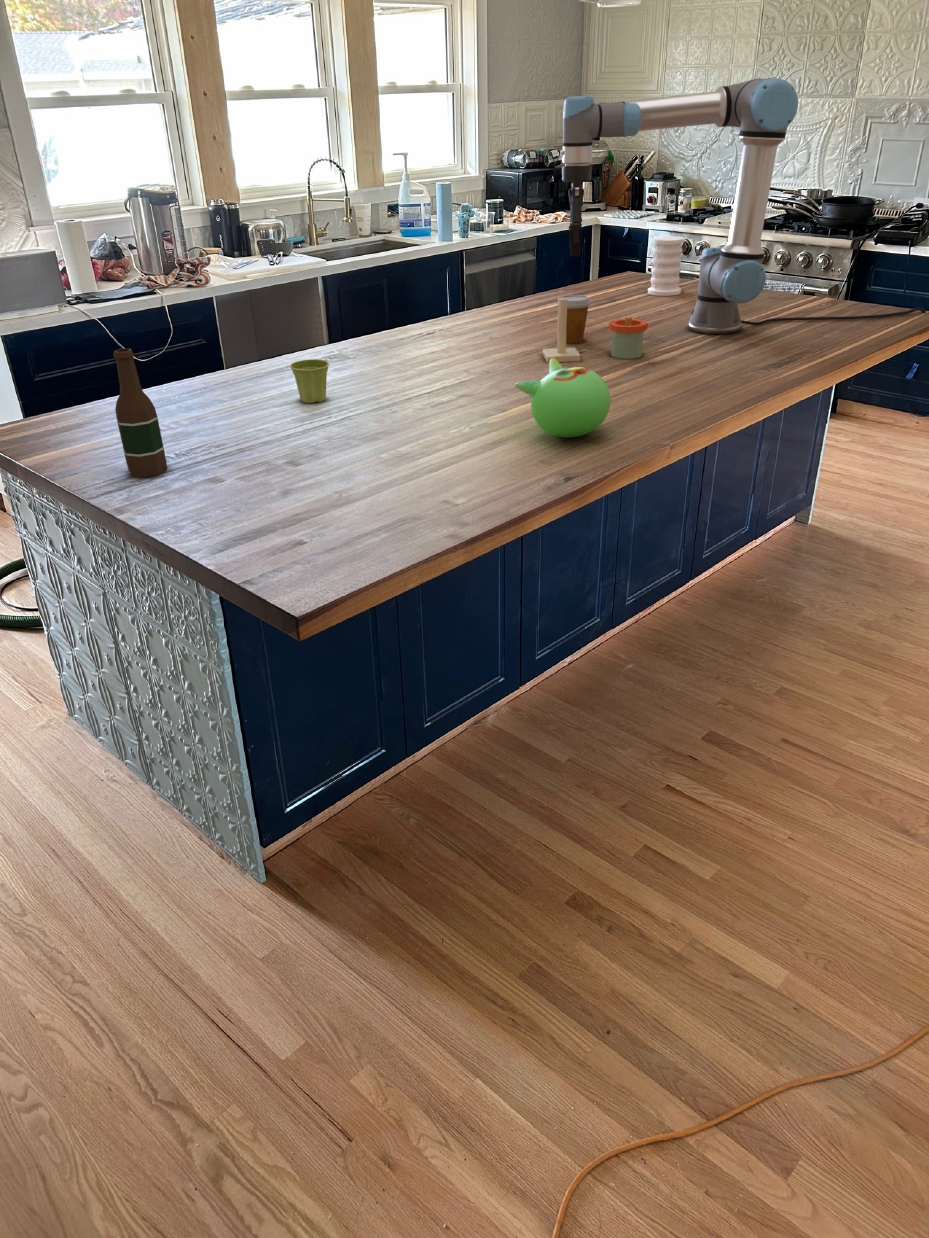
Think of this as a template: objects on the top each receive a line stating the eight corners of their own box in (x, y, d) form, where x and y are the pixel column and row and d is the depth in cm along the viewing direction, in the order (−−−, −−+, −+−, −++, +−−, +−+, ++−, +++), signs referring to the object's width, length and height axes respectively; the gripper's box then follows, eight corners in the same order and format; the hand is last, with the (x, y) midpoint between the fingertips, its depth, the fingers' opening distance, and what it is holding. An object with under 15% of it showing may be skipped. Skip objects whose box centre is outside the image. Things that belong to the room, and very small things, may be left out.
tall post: (575, 353, 257) (576, 295, 249) (580, 361, 249) (582, 301, 241) (542, 354, 256) (543, 296, 249) (547, 362, 248) (547, 303, 241)
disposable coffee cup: (588, 336, 273) (589, 294, 267) (589, 344, 265) (590, 301, 259) (556, 337, 274) (556, 294, 268) (555, 344, 266) (556, 301, 260)
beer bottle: (133, 465, 188) (106, 346, 176) (171, 463, 188) (148, 344, 176) (124, 479, 181) (96, 356, 169) (164, 477, 181) (139, 354, 169)
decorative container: (647, 295, 323) (651, 240, 314) (647, 289, 333) (651, 236, 324) (681, 296, 321) (686, 240, 312) (680, 289, 331) (684, 235, 322)
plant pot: (339, 395, 227) (336, 360, 222) (322, 407, 219) (318, 370, 215) (305, 393, 230) (301, 358, 225) (287, 404, 222) (282, 368, 218)
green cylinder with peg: (638, 350, 257) (640, 313, 252) (645, 358, 250) (647, 320, 245) (608, 351, 257) (610, 314, 252) (614, 359, 249) (616, 321, 244)
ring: (642, 324, 254) (642, 318, 253) (650, 332, 245) (650, 326, 245) (606, 325, 254) (606, 319, 253) (613, 333, 245) (613, 327, 244)
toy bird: (585, 453, 186) (587, 380, 179) (512, 440, 194) (511, 370, 187) (621, 427, 199) (625, 359, 192) (551, 417, 207) (552, 350, 200)
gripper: (561, 161, 249) (560, 245, 260) (562, 168, 228) (561, 260, 238) (589, 160, 248) (587, 245, 259) (593, 167, 227) (590, 259, 237)
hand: (574, 252), depth 249 cm, fingers open, 13 cm apart
